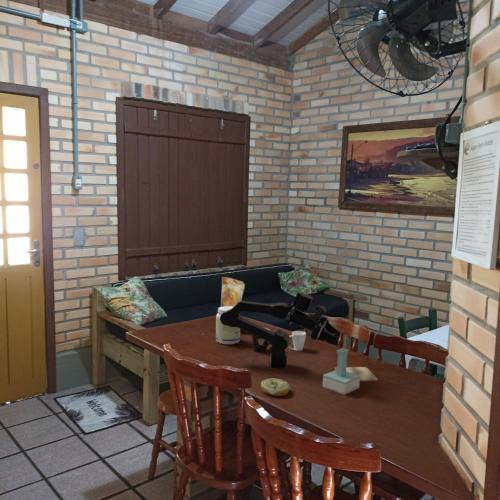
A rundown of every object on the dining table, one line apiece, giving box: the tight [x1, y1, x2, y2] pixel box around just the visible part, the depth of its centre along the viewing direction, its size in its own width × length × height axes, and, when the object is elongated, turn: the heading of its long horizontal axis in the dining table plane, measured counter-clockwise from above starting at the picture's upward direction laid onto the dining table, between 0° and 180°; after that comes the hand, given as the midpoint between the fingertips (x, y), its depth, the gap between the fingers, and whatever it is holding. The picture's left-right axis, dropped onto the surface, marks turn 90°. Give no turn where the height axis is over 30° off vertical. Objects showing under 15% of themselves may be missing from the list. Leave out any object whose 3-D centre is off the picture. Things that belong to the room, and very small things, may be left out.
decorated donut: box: [260, 377, 291, 397], centre depth 180 cm, size 10×11×4 cm
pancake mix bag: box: [220, 276, 246, 307], centre depth 262 cm, size 7×19×28 cm, turn 35°
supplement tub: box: [215, 306, 241, 345], centre depth 240 cm, size 12×12×17 cm
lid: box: [322, 348, 360, 384], centre depth 185 cm, size 10×10×12 cm
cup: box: [287, 330, 307, 352], centre depth 231 cm, size 7×10×8 cm
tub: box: [322, 376, 361, 396], centre depth 185 cm, size 10×10×4 cm
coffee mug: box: [251, 327, 271, 354], centre depth 227 cm, size 12×9×10 cm
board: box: [334, 366, 379, 382], centre depth 200 cm, size 14×14×1 cm
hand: (338, 336), depth 199 cm, fingers open, 9 cm apart
